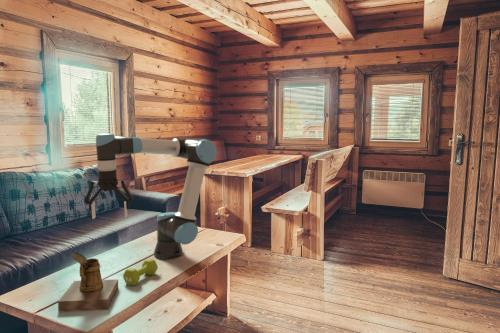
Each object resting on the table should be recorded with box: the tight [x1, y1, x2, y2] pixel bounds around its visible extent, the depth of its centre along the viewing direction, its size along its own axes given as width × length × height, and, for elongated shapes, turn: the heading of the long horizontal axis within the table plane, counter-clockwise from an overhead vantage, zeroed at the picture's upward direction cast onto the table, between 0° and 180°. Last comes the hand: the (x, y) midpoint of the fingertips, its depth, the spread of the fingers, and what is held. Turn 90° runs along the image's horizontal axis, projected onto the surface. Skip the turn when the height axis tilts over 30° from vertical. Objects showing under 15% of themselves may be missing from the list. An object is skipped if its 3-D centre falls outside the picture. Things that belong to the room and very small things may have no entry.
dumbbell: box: [122, 258, 159, 287], centre depth 170 cm, size 16×8×7 cm, turn 155°
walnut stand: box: [57, 279, 119, 313], centre depth 150 cm, size 18×18×4 cm
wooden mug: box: [71, 251, 103, 292], centre depth 149 cm, size 9×14×18 cm, turn 165°
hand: (110, 217), depth 164 cm, fingers open, 13 cm apart
